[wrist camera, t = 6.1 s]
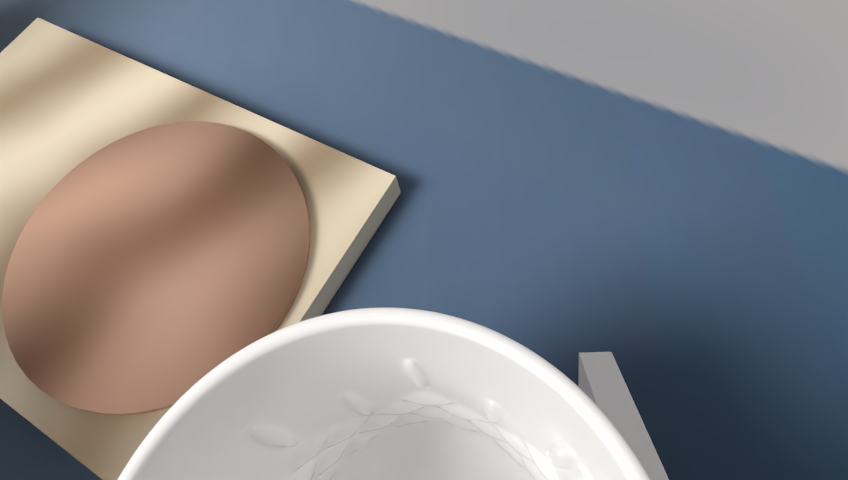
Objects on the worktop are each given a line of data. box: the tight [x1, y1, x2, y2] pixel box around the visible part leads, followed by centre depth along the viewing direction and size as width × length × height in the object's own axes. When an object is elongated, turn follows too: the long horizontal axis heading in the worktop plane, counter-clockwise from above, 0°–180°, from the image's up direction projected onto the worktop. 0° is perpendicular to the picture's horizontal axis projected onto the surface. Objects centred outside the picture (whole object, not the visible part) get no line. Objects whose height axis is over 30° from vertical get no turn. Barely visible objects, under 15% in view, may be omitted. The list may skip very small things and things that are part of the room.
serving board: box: [0, 17, 401, 480], centre depth 21 cm, size 20×13×2 cm, turn 60°
